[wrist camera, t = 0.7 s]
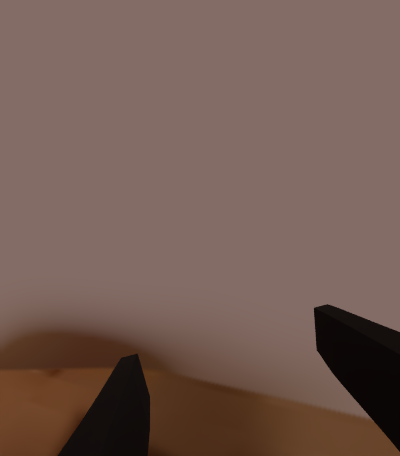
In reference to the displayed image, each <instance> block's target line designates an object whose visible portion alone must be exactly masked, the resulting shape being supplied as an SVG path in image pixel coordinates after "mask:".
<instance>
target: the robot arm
mask: <svg viewBox="0 0 400 456" xmlns="http://www.w3.org/2000/svg"><path fill="white" fill-rule="evenodd" d="M314 317H315V330H316V331H315V332H316V346H317V351H318V352H319V354H320V355H321V357H322V358H323V360H324V361H325V363H326V364H327V366H328V367H329V368H330V370H331V371H332V373H333V374H334V375H335V377H336V378H337V379H338V380H339V381H340V382H341V384H342V385H343V386H344V387H345V388H346V390H347V391H348V392H349V393H350V394H351V395H352V396H353V398H354V399H355V400H356V401H357V402H358V403H359V405H360V406H361V407H362V408H363V409H364V410H365V411H366V413H367V414H368V415H369V416H370V417H371V418H372V420H373V421H374V422H375V423H376V424H377V425H378V426H379V428H380V429H381V430H382V431H383V432H384V433H385V434H386V436H387V437H388V438H389V439H390V440H391V442H392V443H393V444H394V445H395V446H396V448H397V449H398V450H399V451H400V332H398V331H395V330H393V329H390V328H388V327H385V326H382V325H380V324H377V323H375V322H372V321H370V320H367V319H365V318H362V317H360V316H357V315H355V314H352V313H349V312H347V311H344V310H342V309H339V308H337V307H334V306H331V305H328V304H327V305H323V306H319V307H316V308H314ZM149 433H150V395H149V392H148V388H147V385H146V381H145V378H144V374H143V371H142V368H141V364H140V361H139V357H138V354H135V355H131V356H127V357H123V358H121V359H120V361H119V362H118V364H117V365H116V367H115V369H114V370H113V372H112V374H111V375H110V377H109V379H108V380H107V382H106V383H105V385H104V387H103V388H102V390H101V392H100V393H99V395H98V396H97V398H96V399H95V401H94V403H93V404H92V406H91V407H90V409H89V410H88V412H87V414H86V415H85V417H84V418H83V420H82V421H81V423H80V424H79V426H78V427H77V428H76V430H75V431H74V433H73V434H72V436H71V437H70V439H69V440H68V441H67V443H66V444H65V446H64V447H63V449H62V450H61V452H60V453H59V454H58V456H147V454H148V443H149Z"/></svg>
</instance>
